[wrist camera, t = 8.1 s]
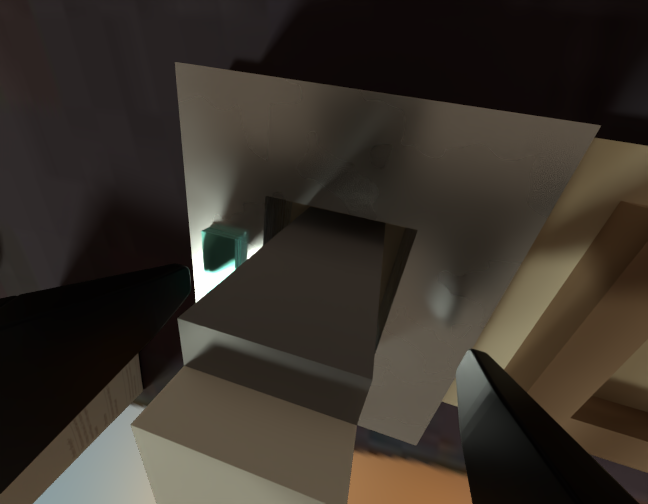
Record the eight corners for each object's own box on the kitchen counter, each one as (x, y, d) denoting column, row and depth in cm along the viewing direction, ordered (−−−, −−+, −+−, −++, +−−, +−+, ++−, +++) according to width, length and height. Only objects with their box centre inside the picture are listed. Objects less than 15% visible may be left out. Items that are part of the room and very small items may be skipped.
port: (539, 128, 7) (616, 124, 5) (411, 391, 13) (416, 456, 10) (229, 80, 9) (162, 57, 6) (231, 333, 14) (196, 377, 12)
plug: (385, 222, 10) (365, 464, 3) (360, 315, 12) (310, 596, 4) (310, 206, 10) (112, 372, 3) (298, 297, 12) (164, 527, 5)
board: (1083, 218, 6) (1197, 231, 5) (696, 464, 12) (721, 491, 11) (220, 82, 10) (203, 76, 9) (226, 317, 15) (215, 328, 14)
